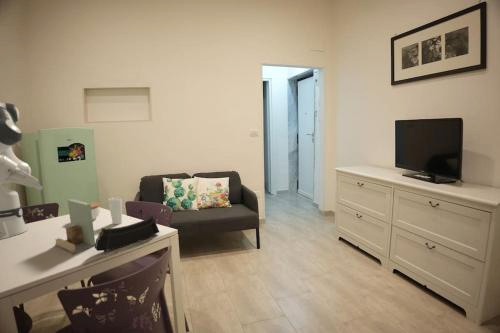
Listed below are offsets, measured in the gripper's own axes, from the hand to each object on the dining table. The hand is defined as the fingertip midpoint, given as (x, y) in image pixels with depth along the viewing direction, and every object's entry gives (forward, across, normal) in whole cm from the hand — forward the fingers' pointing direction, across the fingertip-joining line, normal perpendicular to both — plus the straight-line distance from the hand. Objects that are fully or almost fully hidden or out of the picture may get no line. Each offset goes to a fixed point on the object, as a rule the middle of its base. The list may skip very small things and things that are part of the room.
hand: (37, 187), depth 122 cm
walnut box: (+30, 0, +13) cm, 33 cm away
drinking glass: (+51, +12, -7) cm, 53 cm away
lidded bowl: (+48, +34, -3) cm, 59 cm away
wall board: (+30, 0, +14) cm, 34 cm away
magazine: (+42, -22, +3) cm, 47 cm away
